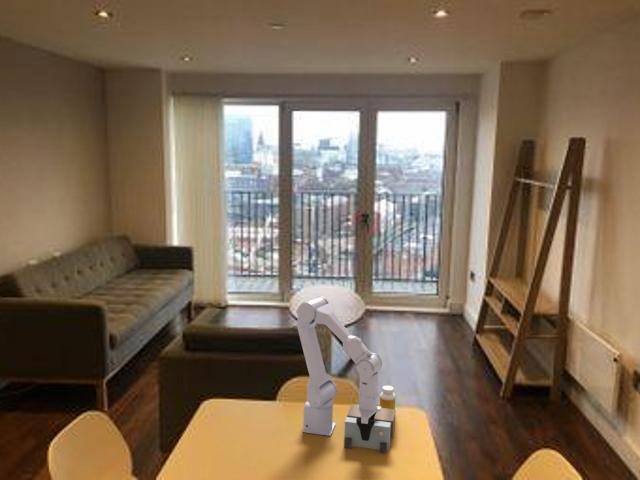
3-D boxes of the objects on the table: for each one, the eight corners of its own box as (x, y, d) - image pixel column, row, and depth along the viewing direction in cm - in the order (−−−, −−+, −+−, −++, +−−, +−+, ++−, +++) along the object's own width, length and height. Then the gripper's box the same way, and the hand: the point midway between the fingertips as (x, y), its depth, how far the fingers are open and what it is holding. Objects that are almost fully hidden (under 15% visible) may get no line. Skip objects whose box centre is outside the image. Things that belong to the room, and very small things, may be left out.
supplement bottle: (394, 418, 190) (395, 392, 189) (378, 416, 191) (379, 390, 190) (395, 410, 196) (396, 385, 194) (380, 409, 197) (381, 383, 195)
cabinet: (341, 447, 172) (341, 429, 171) (350, 420, 188) (351, 404, 187) (389, 454, 168) (390, 436, 167) (394, 426, 185) (395, 409, 184)
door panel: (343, 446, 172) (344, 423, 171) (345, 439, 176) (346, 416, 175) (388, 453, 169) (389, 429, 168) (389, 446, 173) (390, 422, 172)
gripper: (378, 405, 162) (376, 447, 165) (384, 384, 176) (382, 423, 179) (354, 402, 164) (353, 444, 166) (362, 382, 178) (361, 421, 180)
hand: (367, 433), depth 173 cm, fingers open, 7 cm apart
